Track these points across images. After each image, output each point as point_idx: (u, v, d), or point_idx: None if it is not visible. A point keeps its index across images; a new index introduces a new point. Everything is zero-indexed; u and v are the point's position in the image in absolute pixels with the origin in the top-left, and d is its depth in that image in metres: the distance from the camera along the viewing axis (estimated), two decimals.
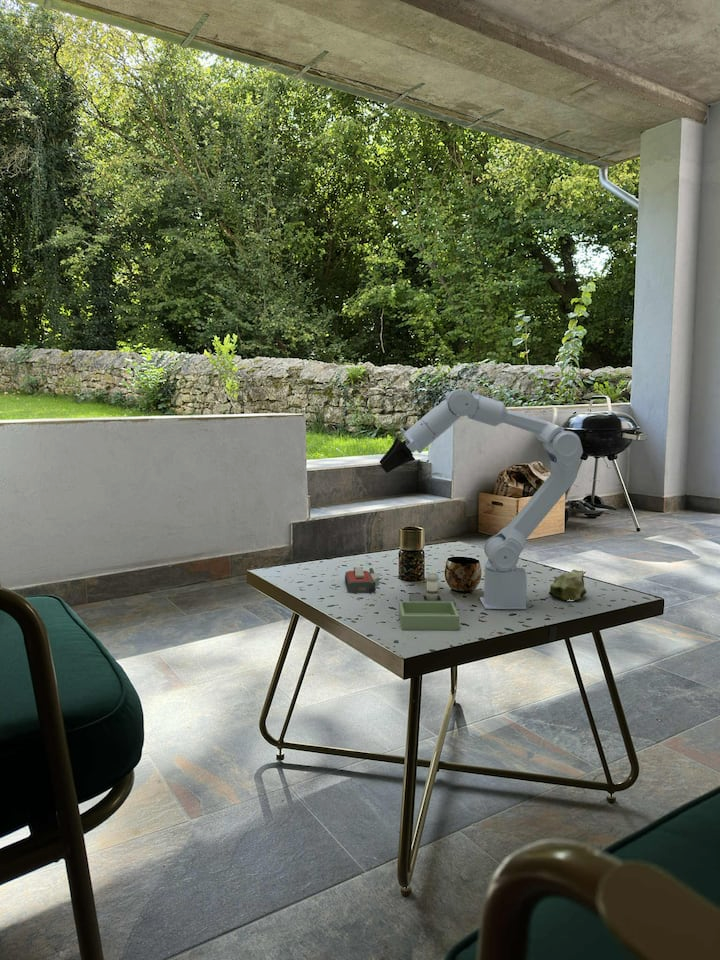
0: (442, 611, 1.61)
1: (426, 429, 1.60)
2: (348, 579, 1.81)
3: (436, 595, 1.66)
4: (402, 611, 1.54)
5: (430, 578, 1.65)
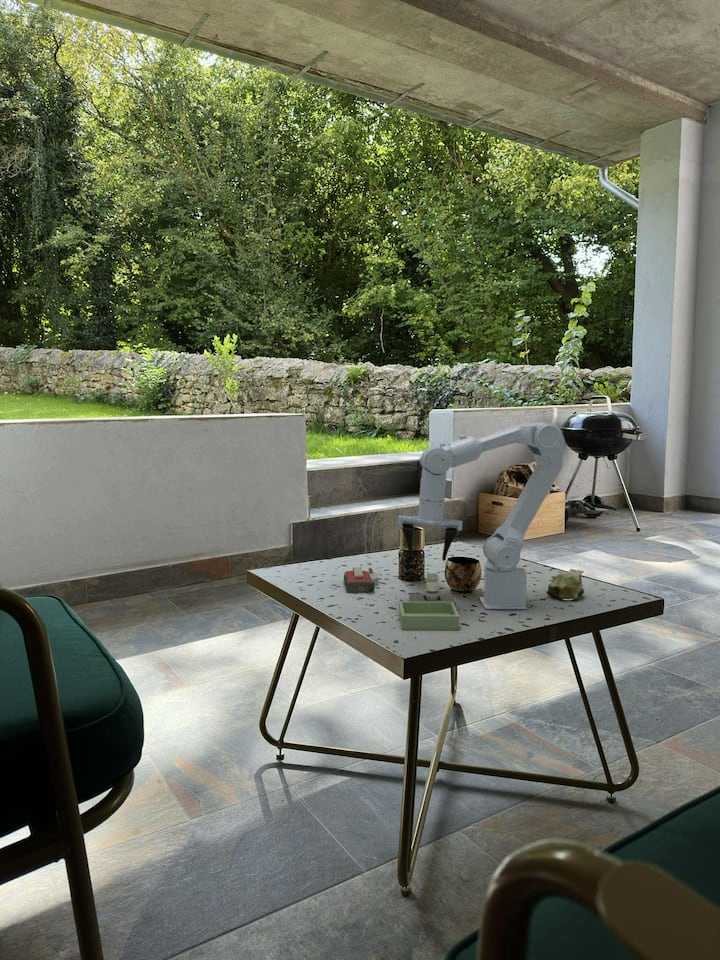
0: (442, 611, 1.61)
1: None
2: (347, 579, 1.81)
3: (436, 595, 1.66)
4: (402, 611, 1.54)
5: (430, 578, 1.65)
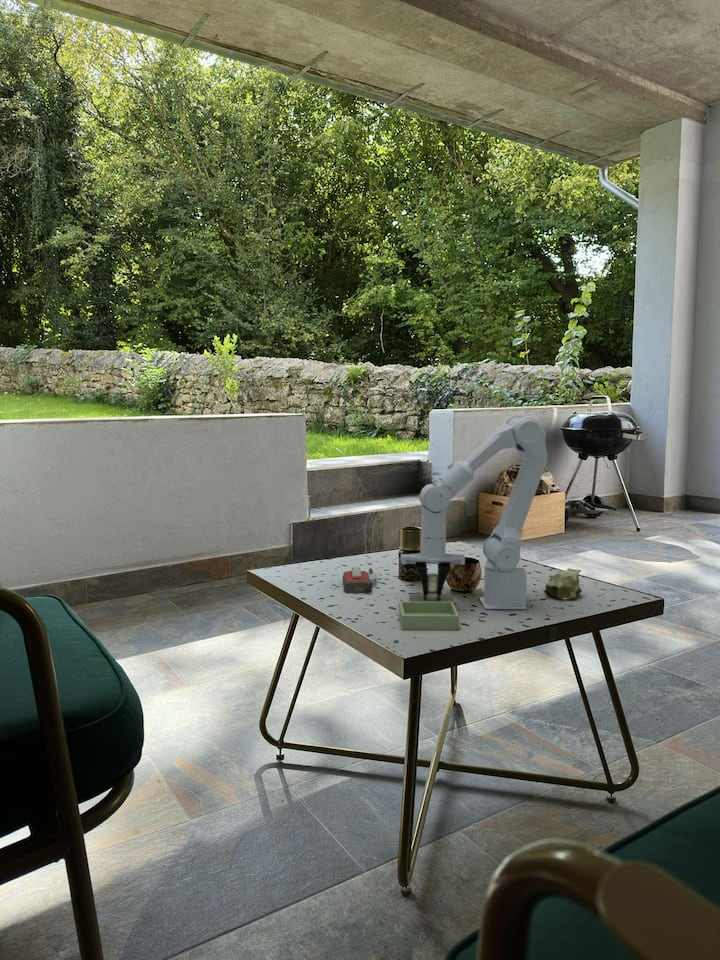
0: (442, 611, 1.61)
1: (445, 539, 1.65)
2: (345, 579, 1.81)
3: (436, 595, 1.66)
4: (402, 611, 1.54)
5: (430, 578, 1.65)
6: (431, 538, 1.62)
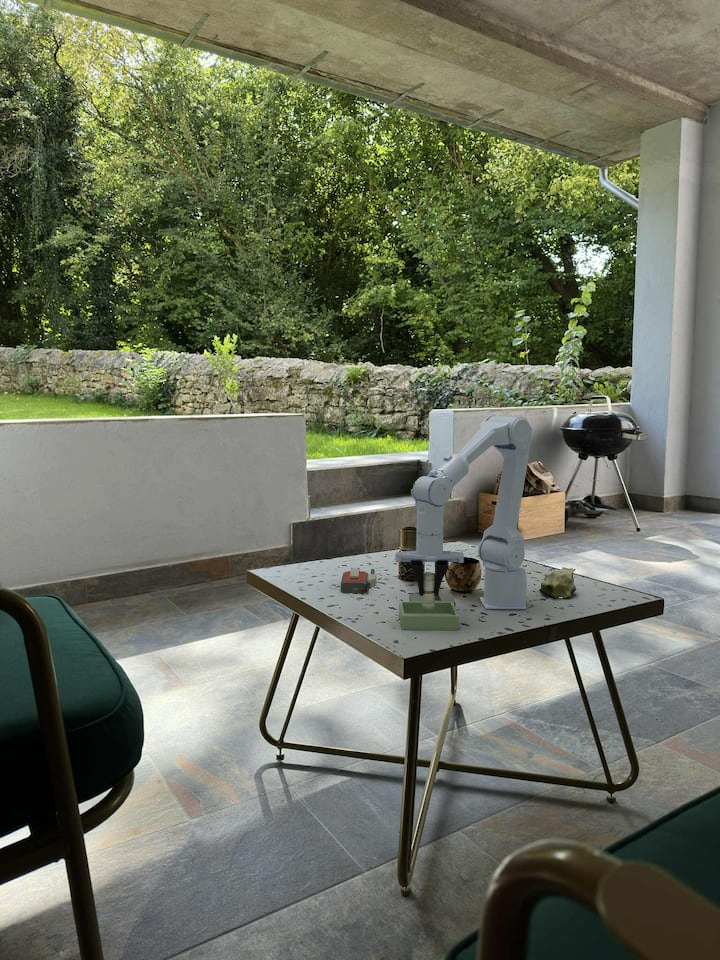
0: (442, 611, 1.61)
1: None
2: (342, 579, 1.81)
3: (432, 595, 1.55)
4: (402, 611, 1.54)
5: (426, 577, 1.54)
6: (427, 534, 1.51)
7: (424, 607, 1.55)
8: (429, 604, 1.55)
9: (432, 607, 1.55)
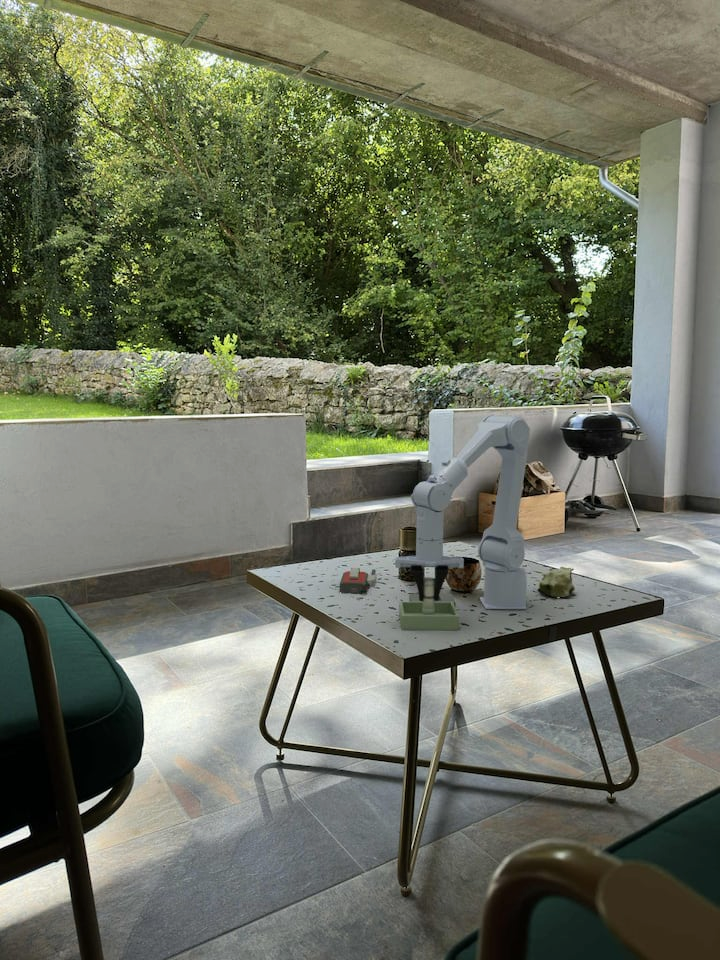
0: (442, 611, 1.61)
1: None
2: (342, 579, 1.81)
3: (432, 600, 1.55)
4: (402, 611, 1.54)
5: (426, 582, 1.54)
6: (427, 539, 1.51)
7: (424, 612, 1.55)
8: (429, 609, 1.55)
9: (432, 612, 1.55)
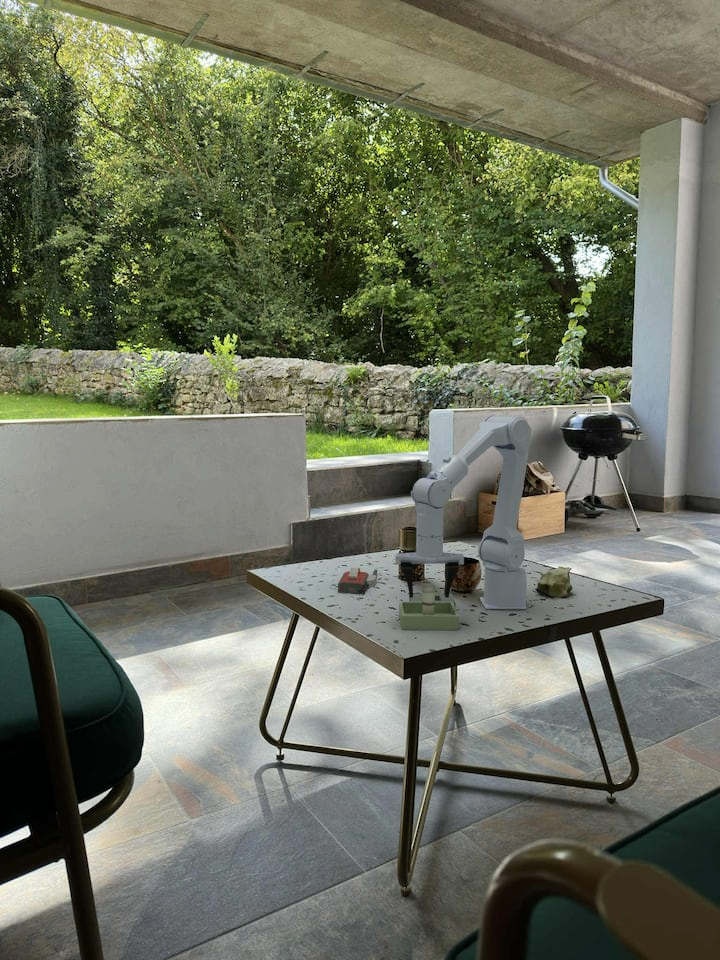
0: (442, 611, 1.61)
1: None
2: (341, 579, 1.81)
3: (432, 607, 1.55)
4: (402, 611, 1.54)
5: (426, 589, 1.54)
6: (427, 536, 1.51)
7: None
8: None
9: None
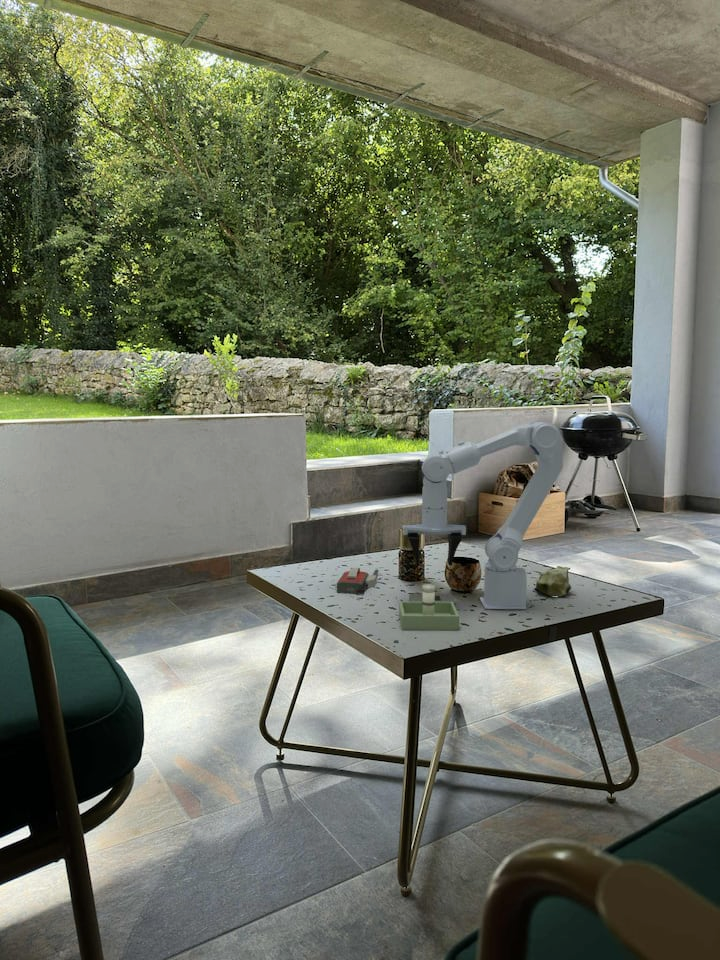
0: (442, 611, 1.61)
1: (446, 510, 1.66)
2: (340, 579, 1.81)
3: (432, 607, 1.55)
4: (402, 611, 1.54)
5: (426, 589, 1.54)
6: (433, 508, 1.64)
7: None
8: None
9: None
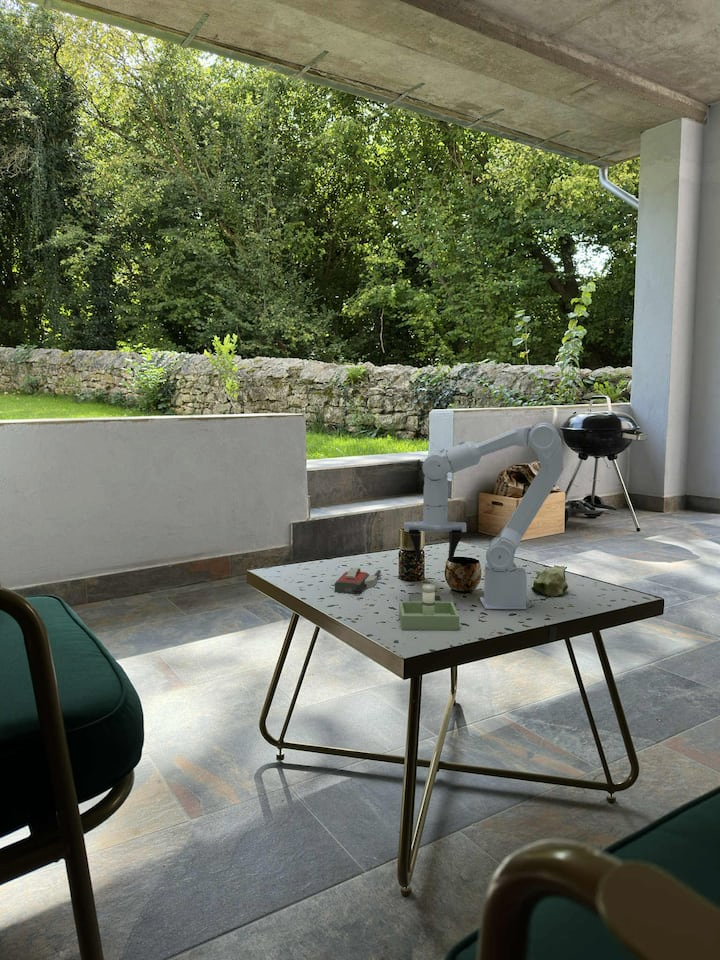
0: (442, 611, 1.61)
1: (447, 507, 1.69)
2: (339, 579, 1.81)
3: (432, 607, 1.55)
4: (402, 611, 1.54)
5: (426, 589, 1.54)
6: (433, 505, 1.67)
7: None
8: None
9: None
